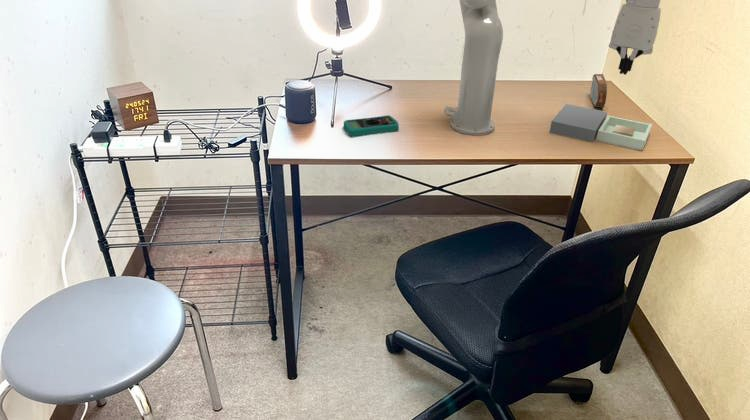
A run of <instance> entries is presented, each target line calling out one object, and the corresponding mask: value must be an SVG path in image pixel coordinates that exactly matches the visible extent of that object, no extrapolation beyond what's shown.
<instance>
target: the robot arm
mask: <svg viewBox="0 0 750 420" xmlns="http://www.w3.org/2000/svg"><path fill="white" fill-rule="evenodd" d="M660 3H661V0H625V3H623V4H622V5H621V7H620V9H619V12H618V15H617V18H616V20H615V24H614V25H613V30H612V32H611V38H610V43H608V48H610V49H612V50H615V51H616V52H617V54H618V55H619V56H620V57H619V58H620V62H619V64H618V67H617V68H618V70H620V71H619V74H620V75H622V74H623V75H627V74H628V73H629V72H631V71H632V68H633V67H632V66H633V64H634V60H635V59H637V58H639V57H640V56H642V55H651V54H652V53H653V52H654V44H655V41H656V38H657V34H658V29H659V27H660V26H659V25H660V24H659V23H660V20H661V19H660V18H661V12H662V11H661V10H662V9H661V7H660ZM459 5H460V12H461V17H462V21H463V22H462V24H463V28H464V45H463V46H464V47H463V52H462V62H461V69H460V83H459V93H458V102H457V106H456V107H452V106H448V105H446V106H445V107H444V115H445V116H446V117H447V116H448V117H451V120H450V127H451V128H452V129H453V130H454V131H456V132H459V133H461V134H465V135H470V136H471V135H472V136H481V135H487V134H490V133H492V132H494V131H495V128H496V124H495V122H494V121H493V120H492V119H491V118H492V109H493V103H494V96H495V89H496V82H497V81H496V80H497V72H498V65H499V59H500V54H501V49H502V46H503V40H504V39H503V38H504V29H503V25H502V22H501V19H500V17H499V14H498V8H497V0H459ZM628 49H631V50H632V49H633V50H632V51H631V54H630V55H629V56H628Z"/></svg>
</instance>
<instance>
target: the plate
mask: <svg viewBox="0 0 750 420" xmlns="http://www.w3.org/2000/svg"><path fill="white" fill-rule="evenodd" d="M607 116H608V111H605V110H599V109H594V108H590V107H584V106H579V105H576V104H575V105H574V104H570V103H565V104H564V106H563V107H562V108H561V109H560V110H559V112H558V113H557V114H556V115H555V116H554V117H553V118H552V120H551V121H550V126H549V132H548V133H549V134H554V135H559V136H563V137H568V138H572V139H575V140H580V141H584V142H585V141H586V142H590V143H593V142H594V141H596V138H597V134H598V130H599V129H600V127H601V126H602V124H603V122H604V121H605V119H606V118H607Z"/></svg>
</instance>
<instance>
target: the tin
mask: <svg viewBox="0 0 750 420" xmlns="http://www.w3.org/2000/svg"><path fill="white" fill-rule="evenodd" d="M607 93H608V82H607V80H606V77H605V75H604V74H603V73H595V74H593V75H592V81H591V86H590V100H591V103H592V105H593V107H594V108H600V109H601V108H602V109H603V108H605V105H606V100H607V97H608V96H607V95H608V94H607Z"/></svg>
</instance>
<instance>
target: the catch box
mask: <svg viewBox="0 0 750 420" xmlns="http://www.w3.org/2000/svg"><path fill="white" fill-rule="evenodd" d="M616 125H620V126H625V127H630V128H635V132H634V135H633V137H630V136H626V135H621V134H616V133H613V130H614V128H615V127H616ZM652 126H653V124H652V123H647V122H642V121H636V120H631V119H626V118H621V117H617V116H613V115H607V116H606V119H605V121H604V122H603V124H602V126H601V127H600V129H599V130H598V134H597V136H596V138H595V141H596V142H600V143H604V144H608V145H613V146H616V147H622V148H628V149H630V150H635V151H641V152H643V150H644V147H645V146H646V143H647V141H648V138H649V137H650V133H651V130H652Z"/></svg>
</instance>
